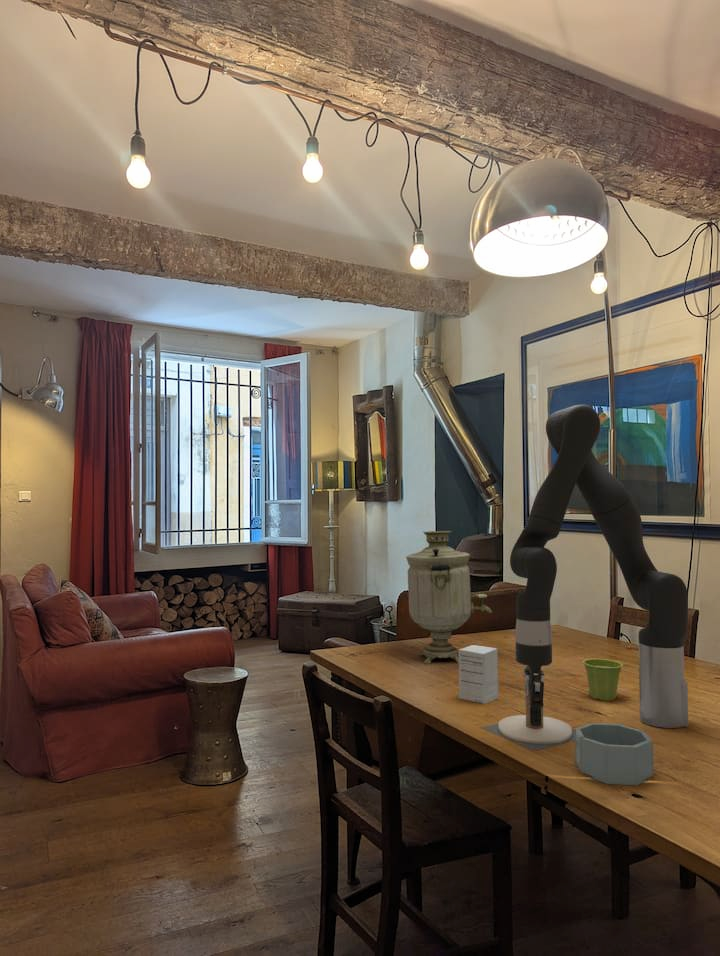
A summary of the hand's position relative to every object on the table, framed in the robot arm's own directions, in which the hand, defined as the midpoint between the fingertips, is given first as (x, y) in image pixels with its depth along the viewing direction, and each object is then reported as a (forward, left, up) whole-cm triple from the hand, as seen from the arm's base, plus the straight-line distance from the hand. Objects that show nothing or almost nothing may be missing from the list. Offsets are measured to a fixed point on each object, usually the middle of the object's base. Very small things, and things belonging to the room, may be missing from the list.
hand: (534, 721), depth 143 cm
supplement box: (+11, -24, -3) cm, 27 cm away
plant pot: (-20, -30, -3) cm, 36 cm away
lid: (0, 0, -2) cm, 2 cm away
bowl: (-12, +18, -3) cm, 22 cm away
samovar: (+19, -66, -3) cm, 69 cm away
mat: (0, 0, -3) cm, 3 cm away
